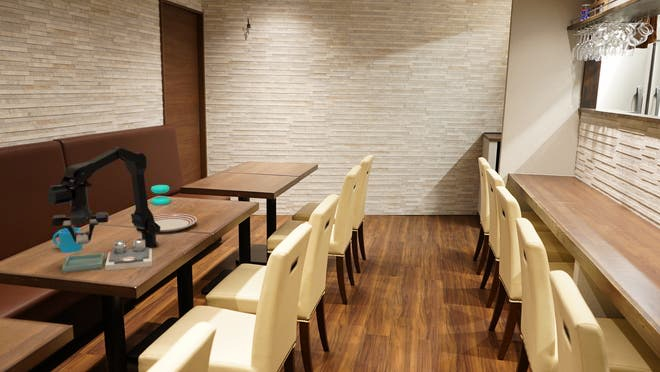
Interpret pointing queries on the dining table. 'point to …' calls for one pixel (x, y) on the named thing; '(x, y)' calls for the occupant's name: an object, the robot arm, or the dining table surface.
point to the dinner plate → (174, 221)
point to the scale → (129, 259)
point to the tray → (83, 262)
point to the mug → (67, 241)
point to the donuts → (162, 199)
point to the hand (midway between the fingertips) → (82, 241)
